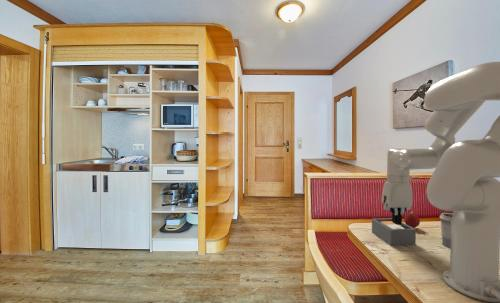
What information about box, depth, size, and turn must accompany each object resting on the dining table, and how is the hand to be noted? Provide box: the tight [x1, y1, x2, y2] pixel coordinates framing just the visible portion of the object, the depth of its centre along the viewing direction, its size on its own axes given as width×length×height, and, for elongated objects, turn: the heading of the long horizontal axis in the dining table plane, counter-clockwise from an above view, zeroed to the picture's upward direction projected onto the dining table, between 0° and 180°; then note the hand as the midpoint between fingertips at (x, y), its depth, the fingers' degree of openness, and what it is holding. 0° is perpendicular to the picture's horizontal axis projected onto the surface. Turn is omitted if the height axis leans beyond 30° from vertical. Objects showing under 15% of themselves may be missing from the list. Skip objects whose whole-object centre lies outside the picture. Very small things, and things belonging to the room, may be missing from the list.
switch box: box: [371, 217, 417, 246], centre depth 92 cm, size 13×10×6 cm
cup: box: [439, 212, 454, 249], centre depth 85 cm, size 7×7×12 cm
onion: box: [403, 211, 421, 229], centre depth 102 cm, size 6×6×8 cm
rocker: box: [381, 221, 405, 229], centre depth 92 cm, size 8×5×1 cm, turn 2°
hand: (396, 223), depth 89 cm, fingers closed
